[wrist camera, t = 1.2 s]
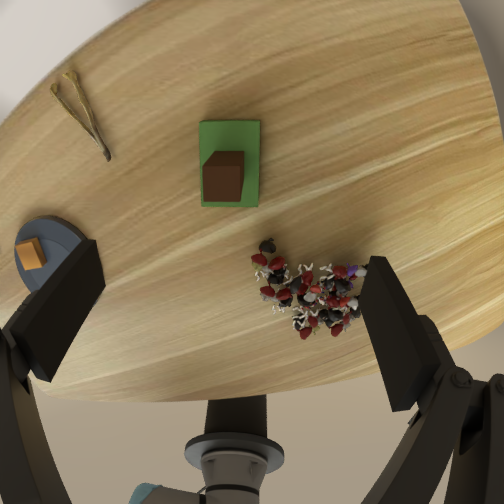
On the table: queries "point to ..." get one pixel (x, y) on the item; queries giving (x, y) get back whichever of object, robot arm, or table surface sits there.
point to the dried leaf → (83, 101)
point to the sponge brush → (229, 162)
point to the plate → (47, 247)
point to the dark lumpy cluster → (310, 292)
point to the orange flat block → (31, 254)
